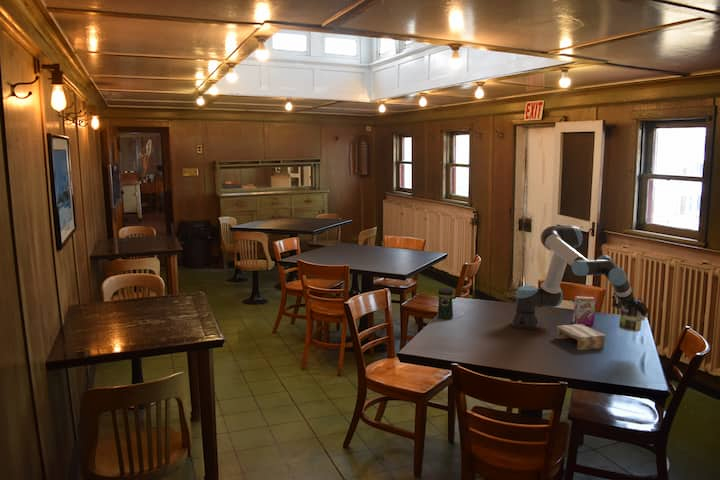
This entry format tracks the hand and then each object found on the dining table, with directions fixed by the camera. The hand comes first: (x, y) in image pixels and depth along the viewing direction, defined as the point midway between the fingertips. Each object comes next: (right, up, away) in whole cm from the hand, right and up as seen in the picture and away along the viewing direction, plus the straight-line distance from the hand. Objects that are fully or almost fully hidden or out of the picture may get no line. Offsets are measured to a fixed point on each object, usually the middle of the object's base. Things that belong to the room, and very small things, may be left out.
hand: (633, 316), depth 298 cm
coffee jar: (-89, -9, +58) cm, 106 cm away
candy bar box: (-6, -11, +51) cm, 52 cm away
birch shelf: (-22, -17, +16) cm, 32 cm away
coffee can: (-2, -6, -1) cm, 7 cm away
